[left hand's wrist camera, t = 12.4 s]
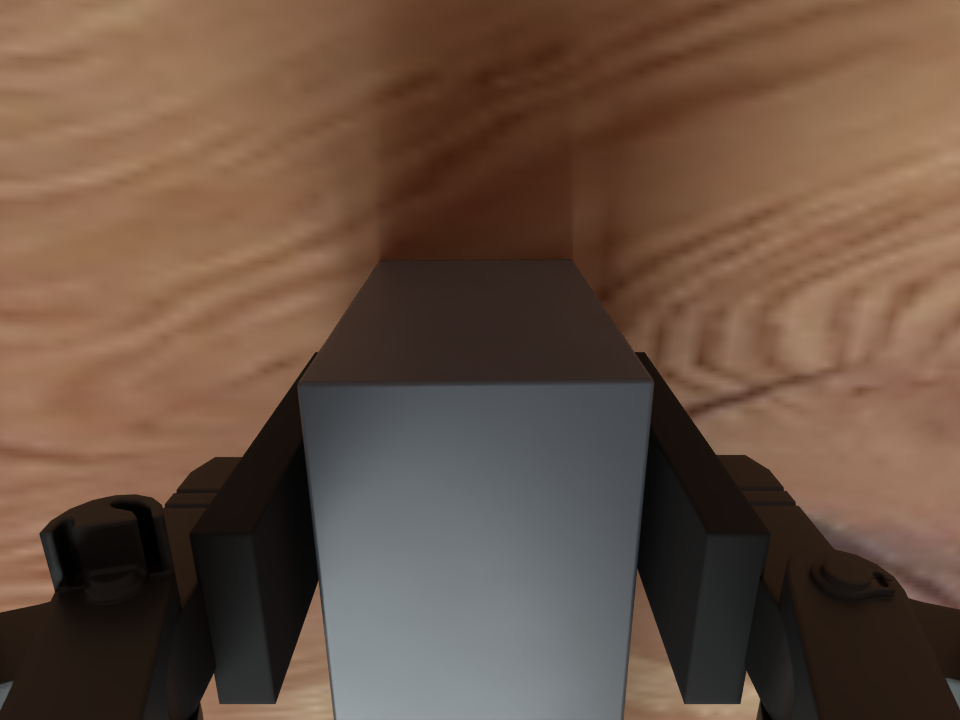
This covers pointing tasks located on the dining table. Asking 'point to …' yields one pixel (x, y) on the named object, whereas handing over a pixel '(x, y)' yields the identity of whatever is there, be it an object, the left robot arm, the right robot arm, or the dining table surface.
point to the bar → (476, 494)
